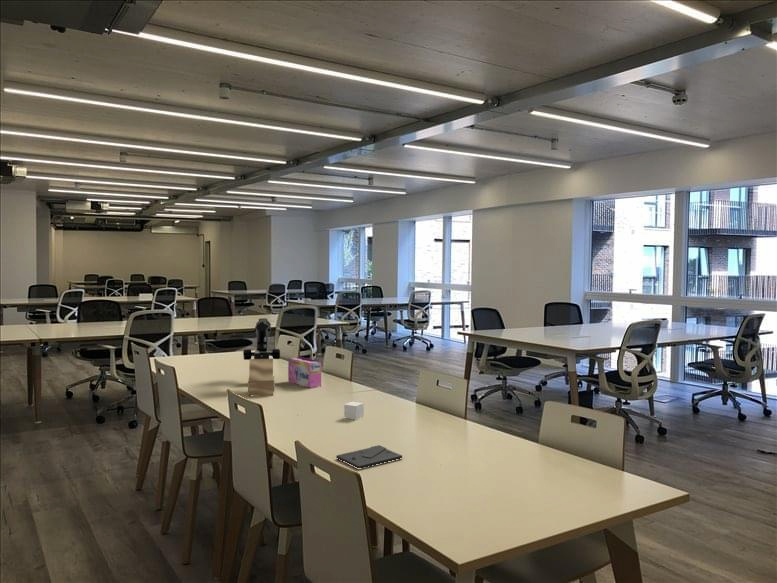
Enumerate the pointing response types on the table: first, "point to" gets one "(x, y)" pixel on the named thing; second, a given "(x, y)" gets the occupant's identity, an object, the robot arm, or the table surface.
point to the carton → (261, 387)
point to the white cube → (354, 410)
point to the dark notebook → (369, 456)
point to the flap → (261, 370)
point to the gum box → (304, 371)
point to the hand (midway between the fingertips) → (261, 367)
